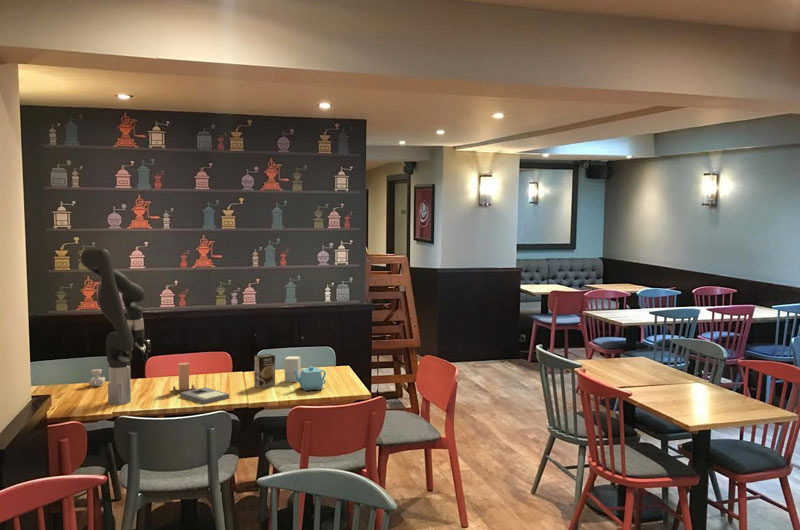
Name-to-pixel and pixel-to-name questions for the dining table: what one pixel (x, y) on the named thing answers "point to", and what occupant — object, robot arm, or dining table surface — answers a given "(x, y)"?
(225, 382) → the dining table surface
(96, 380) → the stamp
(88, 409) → the dining table surface
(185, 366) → the terracotta block
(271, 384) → the coffee box
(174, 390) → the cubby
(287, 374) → the supplement box
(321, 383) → the teapot
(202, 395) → the board
